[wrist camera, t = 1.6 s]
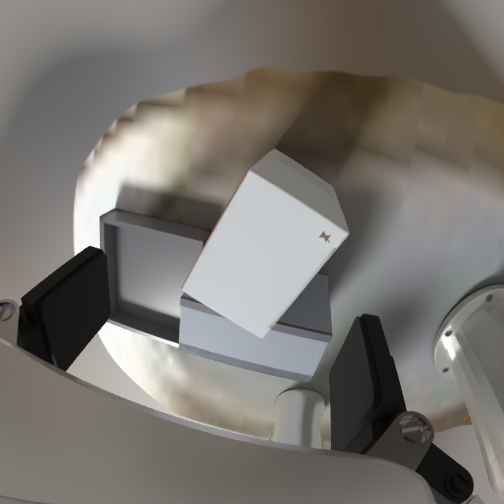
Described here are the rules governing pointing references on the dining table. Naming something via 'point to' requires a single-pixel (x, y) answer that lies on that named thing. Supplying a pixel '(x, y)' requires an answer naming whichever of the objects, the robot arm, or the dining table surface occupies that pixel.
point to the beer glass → (299, 418)
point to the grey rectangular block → (275, 342)
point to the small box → (267, 243)
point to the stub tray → (148, 271)
